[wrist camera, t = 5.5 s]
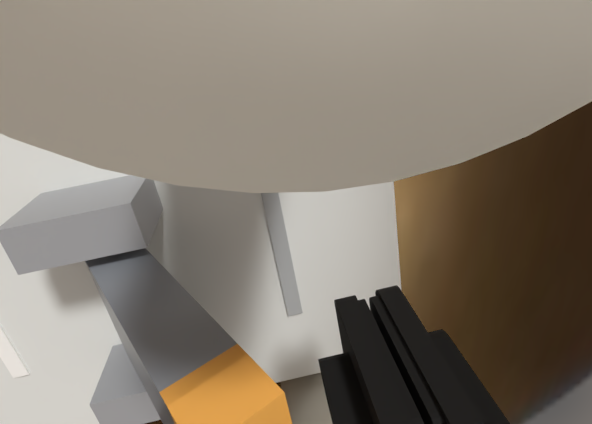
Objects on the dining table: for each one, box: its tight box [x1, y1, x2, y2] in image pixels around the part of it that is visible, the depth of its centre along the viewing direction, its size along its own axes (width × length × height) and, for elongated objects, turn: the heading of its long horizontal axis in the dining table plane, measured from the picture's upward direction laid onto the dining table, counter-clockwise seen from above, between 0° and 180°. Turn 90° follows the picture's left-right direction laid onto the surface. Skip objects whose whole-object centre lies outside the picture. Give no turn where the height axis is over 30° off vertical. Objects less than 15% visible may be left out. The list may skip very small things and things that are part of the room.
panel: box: [0, 133, 401, 424], centre depth 15 cm, size 18×13×5 cm
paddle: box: [85, 248, 292, 424], centre depth 11 cm, size 2×4×9 cm, turn 11°
